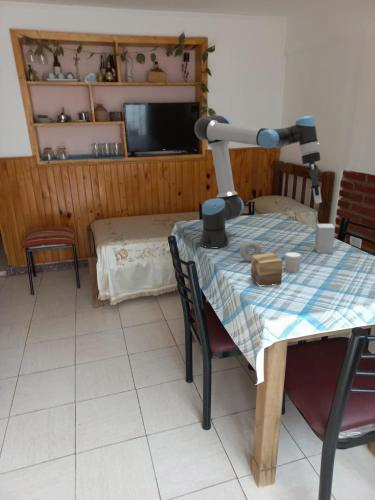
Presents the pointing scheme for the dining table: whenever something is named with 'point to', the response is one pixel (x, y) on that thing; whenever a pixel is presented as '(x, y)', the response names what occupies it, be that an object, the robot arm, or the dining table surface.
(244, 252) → the donut
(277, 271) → the oak block
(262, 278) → the walnut block
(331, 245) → the supplement box
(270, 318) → the dining table surface
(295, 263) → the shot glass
